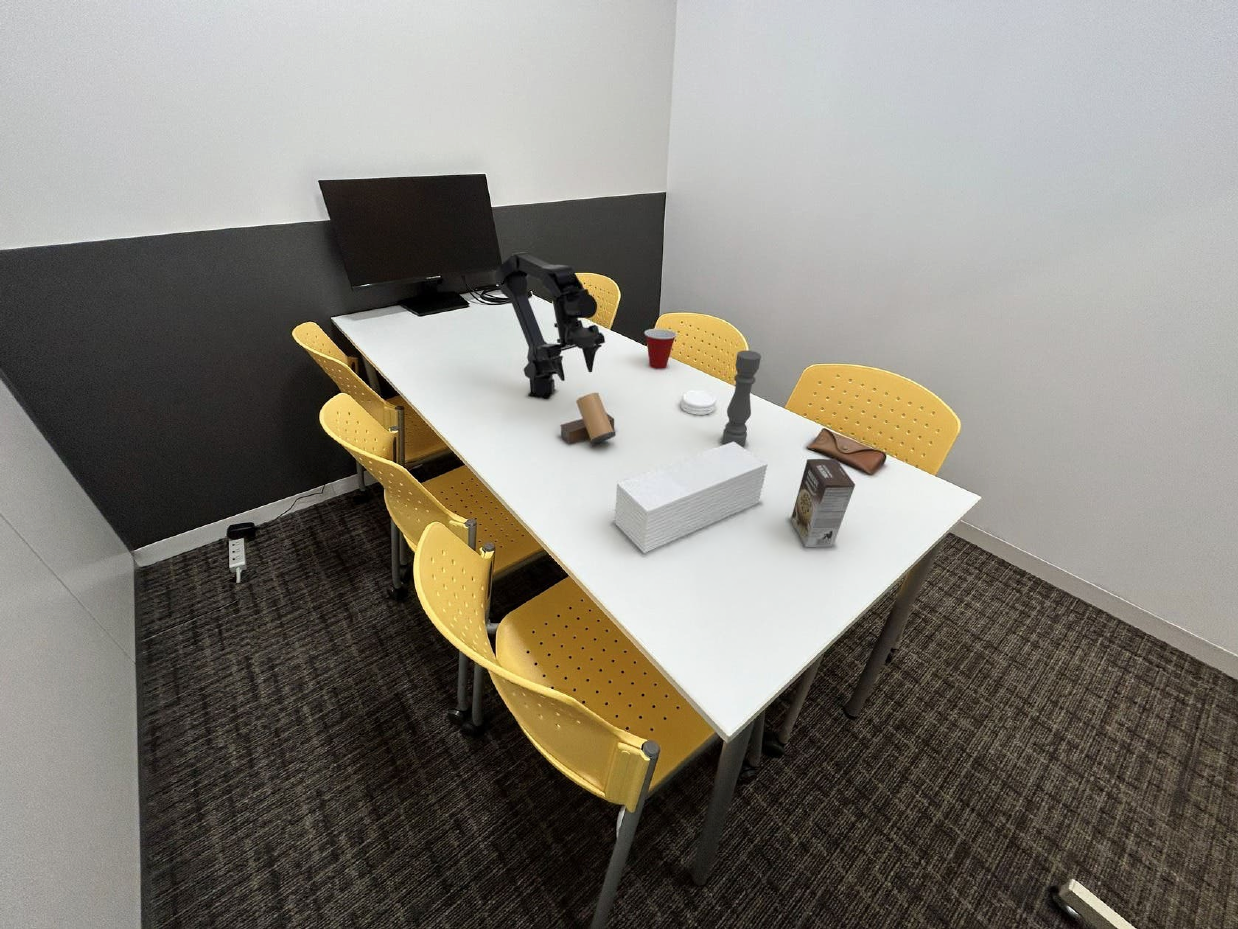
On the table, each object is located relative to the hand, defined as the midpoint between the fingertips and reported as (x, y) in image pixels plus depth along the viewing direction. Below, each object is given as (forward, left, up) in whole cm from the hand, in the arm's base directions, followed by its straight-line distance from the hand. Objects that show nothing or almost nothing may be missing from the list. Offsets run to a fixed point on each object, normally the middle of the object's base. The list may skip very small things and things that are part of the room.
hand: (577, 376), depth 145 cm
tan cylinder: (+9, -11, -12) cm, 19 cm away
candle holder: (+44, -1, -13) cm, 46 cm away
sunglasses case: (+73, +2, -13) cm, 74 cm away
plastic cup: (+15, +43, -13) cm, 47 cm away
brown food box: (+63, -33, -13) cm, 72 cm away
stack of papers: (+37, -34, -13) cm, 52 cm away
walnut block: (+6, -8, -12) cm, 16 cm away
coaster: (+32, +16, -13) cm, 38 cm away
